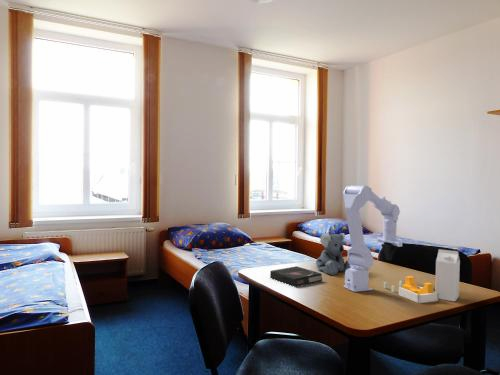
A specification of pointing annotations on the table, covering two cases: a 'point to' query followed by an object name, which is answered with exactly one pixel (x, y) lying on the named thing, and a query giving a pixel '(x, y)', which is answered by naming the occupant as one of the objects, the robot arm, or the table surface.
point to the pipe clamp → (412, 287)
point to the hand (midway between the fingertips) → (388, 259)
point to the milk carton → (447, 275)
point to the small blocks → (399, 284)
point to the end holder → (419, 298)
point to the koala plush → (332, 254)
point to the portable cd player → (296, 276)
